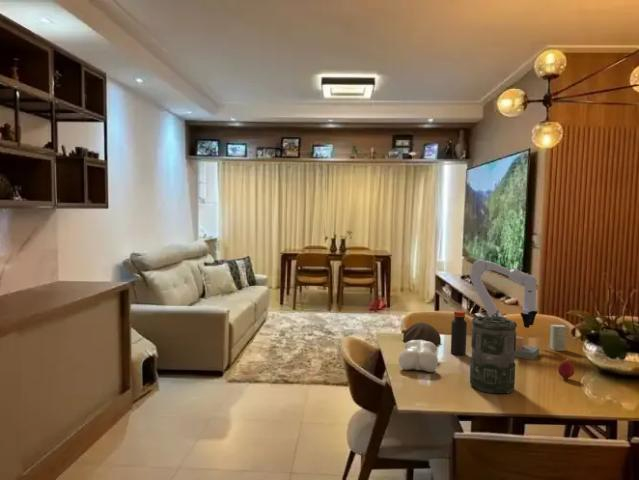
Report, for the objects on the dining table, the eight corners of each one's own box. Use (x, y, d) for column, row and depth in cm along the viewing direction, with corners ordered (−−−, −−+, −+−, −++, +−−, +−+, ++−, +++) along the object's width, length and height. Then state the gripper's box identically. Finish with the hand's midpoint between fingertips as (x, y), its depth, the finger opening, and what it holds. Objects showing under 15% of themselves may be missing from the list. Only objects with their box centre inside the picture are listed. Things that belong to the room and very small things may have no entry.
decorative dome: (399, 336, 259) (399, 318, 258) (435, 337, 259) (436, 319, 259) (405, 346, 239) (406, 326, 239) (445, 347, 240) (446, 327, 239)
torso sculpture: (436, 380, 194) (438, 353, 223) (437, 355, 192) (439, 331, 221) (397, 376, 198) (404, 350, 227) (398, 352, 196) (404, 328, 225)
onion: (567, 382, 189) (568, 362, 189) (554, 377, 194) (555, 358, 194) (577, 380, 192) (577, 360, 192) (563, 376, 197) (564, 356, 197)
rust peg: (513, 354, 229) (514, 337, 228) (515, 352, 231) (516, 336, 231) (521, 355, 226) (521, 338, 226) (523, 354, 229) (523, 337, 229)
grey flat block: (496, 353, 229) (497, 346, 229) (504, 348, 239) (504, 342, 238) (532, 360, 219) (533, 353, 219) (538, 354, 229) (539, 347, 229)
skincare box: (562, 348, 241) (563, 324, 240) (565, 351, 236) (566, 326, 236) (549, 348, 241) (550, 324, 241) (552, 350, 237) (553, 326, 236)
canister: (509, 398, 170) (512, 319, 169) (464, 389, 179) (467, 314, 178) (517, 385, 184) (520, 312, 183) (475, 377, 192) (478, 308, 191)
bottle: (449, 354, 225) (451, 312, 224) (451, 351, 231) (453, 309, 231) (464, 356, 223) (466, 313, 222) (466, 352, 229) (467, 311, 228)
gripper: (534, 302, 234) (533, 329, 235) (541, 298, 246) (540, 325, 246) (519, 300, 238) (518, 327, 239) (526, 297, 250) (525, 323, 251)
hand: (528, 326), depth 243 cm, fingers open, 7 cm apart
